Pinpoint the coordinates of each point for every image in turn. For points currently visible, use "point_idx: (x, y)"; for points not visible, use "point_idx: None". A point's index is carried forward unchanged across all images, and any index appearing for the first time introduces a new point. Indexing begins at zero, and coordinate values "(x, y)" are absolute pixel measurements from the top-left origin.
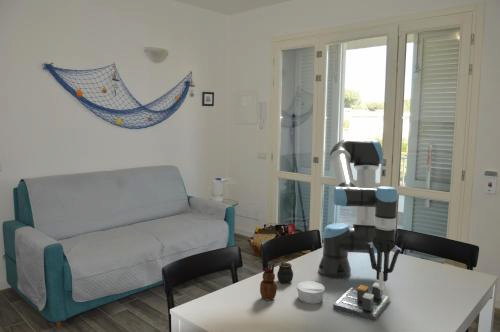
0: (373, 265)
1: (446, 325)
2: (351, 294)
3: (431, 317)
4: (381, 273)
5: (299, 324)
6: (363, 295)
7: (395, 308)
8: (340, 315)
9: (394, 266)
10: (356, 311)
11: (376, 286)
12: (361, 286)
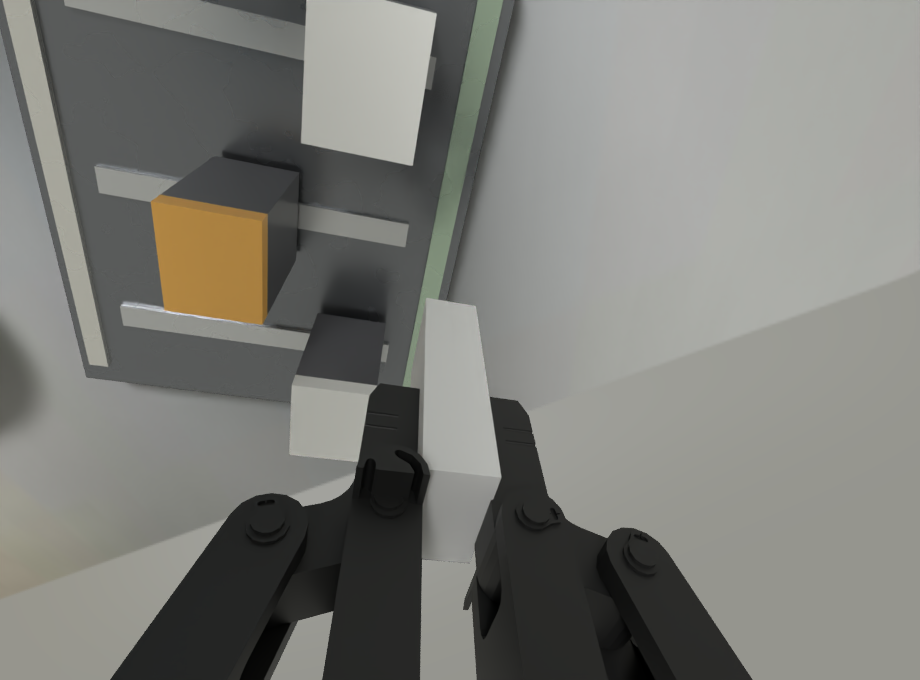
0: (250, 663)
1: (900, 256)
2: (102, 105)
3: (845, 171)
4: (438, 555)
5: (69, 551)
6: (292, 446)
7: (568, 123)
8: (199, 406)
9: (727, 649)
10: (286, 399)
11: (360, 153)
12: (186, 254)
